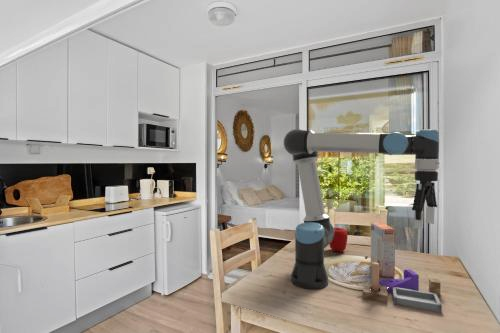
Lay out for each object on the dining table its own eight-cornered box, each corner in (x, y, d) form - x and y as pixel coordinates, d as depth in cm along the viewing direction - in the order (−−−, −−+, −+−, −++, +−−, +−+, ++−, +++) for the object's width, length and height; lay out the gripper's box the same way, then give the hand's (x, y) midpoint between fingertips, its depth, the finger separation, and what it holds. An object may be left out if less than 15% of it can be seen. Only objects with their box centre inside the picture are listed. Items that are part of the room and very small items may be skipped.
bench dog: (430, 294, 105) (430, 281, 105) (428, 290, 109) (429, 277, 109) (440, 296, 104) (440, 282, 104) (438, 291, 108) (438, 278, 108)
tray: (393, 303, 99) (394, 297, 99) (392, 293, 107) (392, 286, 107) (441, 312, 93) (441, 305, 93) (436, 300, 101) (436, 293, 101)
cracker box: (395, 277, 121) (396, 229, 121) (381, 277, 122) (381, 228, 121) (383, 265, 135) (383, 222, 135) (370, 265, 136) (370, 221, 135)
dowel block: (363, 298, 103) (363, 291, 103) (363, 289, 110) (363, 282, 110) (387, 302, 100) (387, 295, 99) (386, 293, 107) (386, 286, 107)
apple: (324, 248, 162) (324, 225, 161) (341, 247, 163) (341, 224, 163) (333, 254, 151) (333, 229, 151) (351, 253, 153) (351, 228, 153)
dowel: (371, 296, 104) (371, 264, 104) (371, 293, 107) (371, 262, 106) (379, 298, 103) (379, 265, 103) (378, 294, 105) (379, 262, 105)
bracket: (408, 285, 115) (408, 268, 115) (418, 292, 108) (418, 274, 108) (378, 285, 115) (379, 268, 115) (387, 292, 108) (387, 274, 108)
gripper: (427, 171, 97) (425, 233, 97) (446, 170, 114) (444, 222, 114) (403, 170, 102) (401, 228, 103) (425, 169, 119) (423, 219, 120)
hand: (424, 225), depth 108 cm, fingers open, 13 cm apart
